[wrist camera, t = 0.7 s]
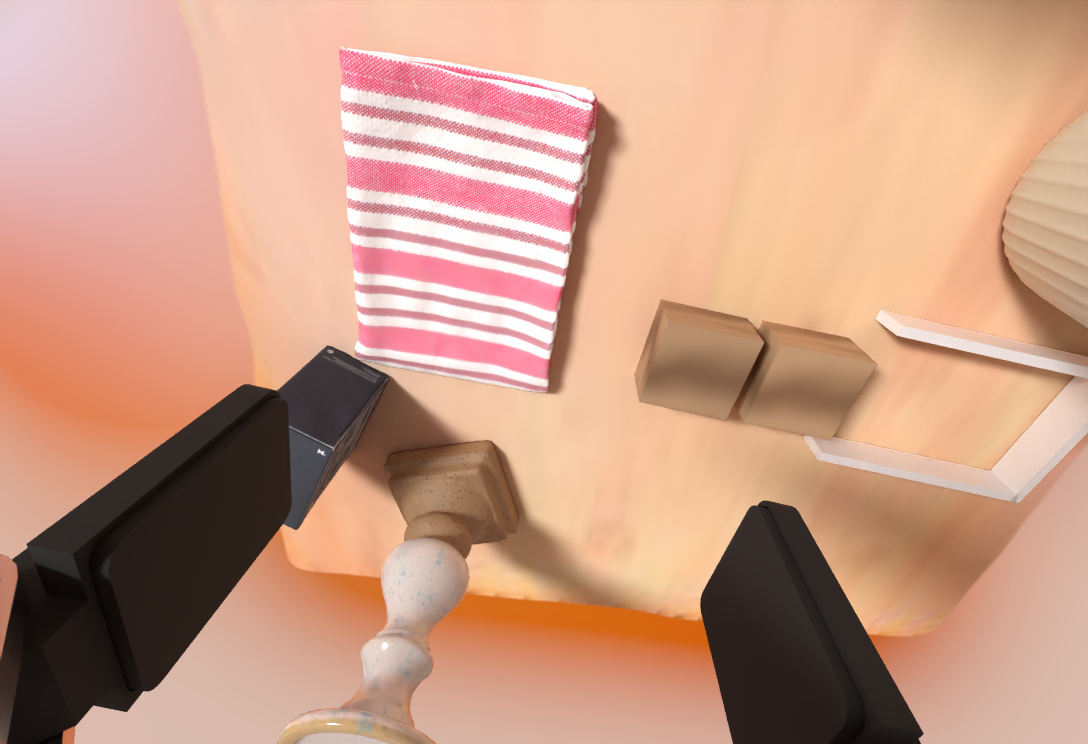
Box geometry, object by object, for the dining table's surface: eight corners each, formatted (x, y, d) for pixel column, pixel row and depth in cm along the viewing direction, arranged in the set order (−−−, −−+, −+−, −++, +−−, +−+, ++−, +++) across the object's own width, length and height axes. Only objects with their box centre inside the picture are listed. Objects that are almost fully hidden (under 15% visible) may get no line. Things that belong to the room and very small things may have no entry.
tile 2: (761, 319, 38) (781, 344, 34) (847, 337, 38) (877, 363, 34) (728, 392, 41) (743, 422, 37) (807, 408, 41) (830, 440, 37)
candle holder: (387, 453, 47) (232, 725, 27) (492, 438, 46) (411, 719, 25) (425, 530, 53) (319, 808, 32) (520, 520, 51) (473, 810, 30)
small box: (323, 340, 42) (249, 406, 33) (392, 375, 43) (339, 449, 34) (291, 422, 47) (220, 499, 37) (354, 451, 48) (299, 534, 39)
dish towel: (605, 90, 31) (607, 89, 28) (549, 388, 43) (546, 409, 40) (348, 44, 31) (322, 38, 28) (362, 355, 43) (345, 374, 40)
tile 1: (660, 298, 38) (668, 321, 34) (746, 317, 38) (764, 342, 34) (634, 373, 41) (639, 401, 37) (712, 390, 41) (725, 420, 37)
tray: (881, 309, 36) (903, 325, 34) (1101, 359, 37) (1140, 379, 34) (803, 438, 43) (817, 459, 40) (992, 479, 43) (1018, 503, 40)
